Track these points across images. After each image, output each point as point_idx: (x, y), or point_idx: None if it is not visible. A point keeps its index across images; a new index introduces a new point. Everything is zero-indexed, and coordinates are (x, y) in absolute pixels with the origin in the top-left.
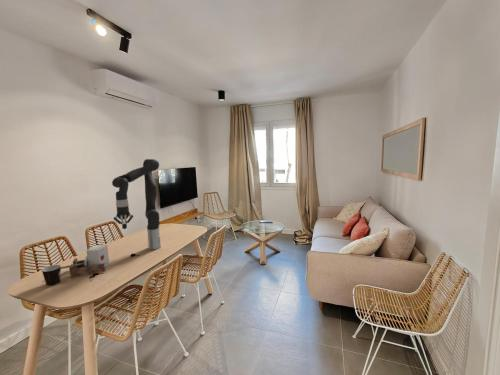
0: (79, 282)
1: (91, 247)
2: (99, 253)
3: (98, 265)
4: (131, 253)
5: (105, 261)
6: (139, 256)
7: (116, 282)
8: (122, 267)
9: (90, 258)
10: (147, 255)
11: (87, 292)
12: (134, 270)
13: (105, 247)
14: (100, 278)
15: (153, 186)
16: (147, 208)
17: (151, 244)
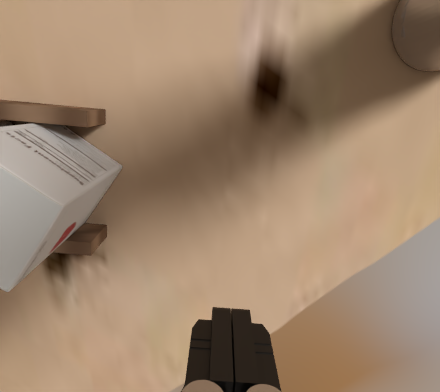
0: (10, 291)
1: None
2: (29, 272)
3: (61, 252)
4: (261, 44)
5: (93, 202)
6: (299, 140)
7: (163, 372)
8: (191, 243)
9: None
10: (347, 154)
11: (63, 387)
12: None
13: (53, 228)
14: (95, 303)
15: None
16: None
17: (432, 56)
